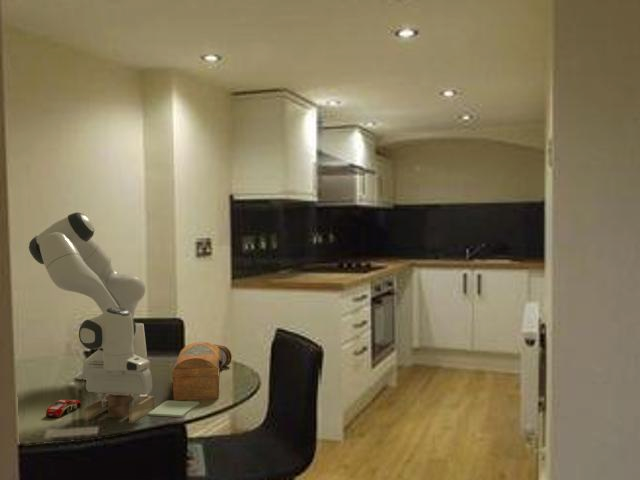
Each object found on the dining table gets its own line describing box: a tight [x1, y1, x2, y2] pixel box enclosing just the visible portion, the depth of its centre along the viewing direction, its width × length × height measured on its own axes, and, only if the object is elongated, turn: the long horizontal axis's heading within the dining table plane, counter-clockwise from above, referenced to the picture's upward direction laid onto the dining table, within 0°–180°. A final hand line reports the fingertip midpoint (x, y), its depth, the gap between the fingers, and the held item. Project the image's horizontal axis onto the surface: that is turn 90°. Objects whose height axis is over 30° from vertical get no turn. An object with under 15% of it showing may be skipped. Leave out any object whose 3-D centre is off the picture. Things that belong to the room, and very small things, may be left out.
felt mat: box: [147, 399, 200, 418], centre depth 194 cm, size 11×14×1 cm
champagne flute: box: [131, 322, 148, 396], centre depth 210 cm, size 7×7×24 cm
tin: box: [212, 343, 233, 368], centre depth 254 cm, size 15×3×8 cm, turn 58°
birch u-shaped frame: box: [84, 393, 155, 424], centre depth 189 cm, size 15×14×4 cm
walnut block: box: [107, 393, 132, 419], centre depth 188 cm, size 5×5×6 cm
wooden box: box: [171, 341, 224, 401], centre depth 220 cm, size 30×16×14 cm, turn 7°
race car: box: [45, 399, 82, 418], centre depth 192 cm, size 13×5×4 cm, turn 168°
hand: (119, 407), depth 188 cm, fingers open, 8 cm apart
